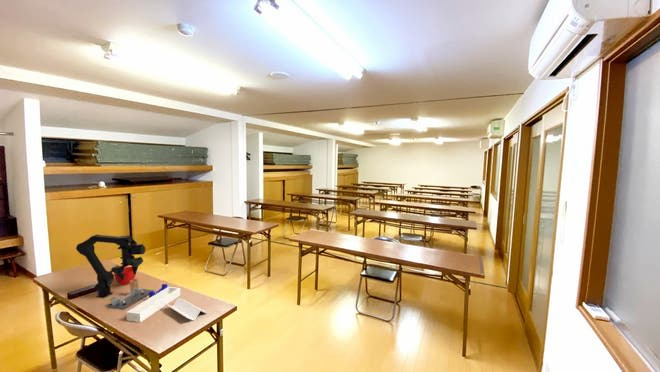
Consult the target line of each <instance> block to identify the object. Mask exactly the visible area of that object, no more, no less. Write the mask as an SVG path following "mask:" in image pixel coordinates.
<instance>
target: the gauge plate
mask: <svg viewBox="0 0 660 372" xmlns="http://www.w3.org/2000/svg"><path fill="white" fill-rule="evenodd" d="M139 289H143V294H142V292H141V291H138V292H136V293H132V292H129V293H128V294H126V295H124V296H123V297H121V296H120V297H119V296H114V297H112V298H111V299H110V303H109V304H108V305H107V308H108V309H114V310H122V311H125V310H127V309H128V308H130V307H131V306H133V305H135V304H136V303H138V302H141V301H142V300H143V299H145V298H147V297H148V296H149V292H150V291H153V292H155V290H153V289H147V288H146V289H145V288H142V287H139Z"/></svg>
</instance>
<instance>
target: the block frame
mask: <svg viewBox="0 0 660 372" xmlns="http://www.w3.org/2000/svg"><path fill="white" fill-rule="evenodd" d="M156 293H157V292H156ZM156 293H155V294H156ZM180 296H181V288H180V287H176V286H175V287H174V286H167V288H166V289H164V290H162V291H161V292H159V293H157V294H156V295H154V296H152V297H151V298H149V297H148V298H147V299H146V300H144V301H143V302H141V303H139V304H138V305H136V306H134V307H132V308H131V309H128V311H126V312H125V313H126V320H127V321H130V322H136V323H142V322H143V321H144V320H146V319H148V318H149V317H151V316H152V315H153V314H155V313H156V312H157V311H159V310H161V309H163V308H164V307H165V306H167V305H166V304H168V305H169V304H170V303H171V302H172V301H174V300H176V299H178V297H180ZM164 303H166V304H164Z"/></svg>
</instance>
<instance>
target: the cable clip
mask: <svg viewBox="0 0 660 372" xmlns="http://www.w3.org/2000/svg"><path fill="white" fill-rule="evenodd" d="M167 287H168V284H167V283H162V284H161V288H159V289H158V290H157V292H156V291H154V292H153V291H150V292H149V297H148V299H149V298H151V297H152V296H154V295H156V294H157V293H159V292H161V291H162V290H164V289H166V288H167Z"/></svg>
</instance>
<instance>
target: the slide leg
mask: <svg viewBox="0 0 660 372" xmlns="http://www.w3.org/2000/svg"><path fill="white" fill-rule="evenodd" d="M129 287H130V288H129V293H136V292H138V291H141V292H142V294H143V289H144V288H142V289H139V288H140V287H139V280H138V279H137V278H134V279H133V280H131V281H130V284H129Z"/></svg>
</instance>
